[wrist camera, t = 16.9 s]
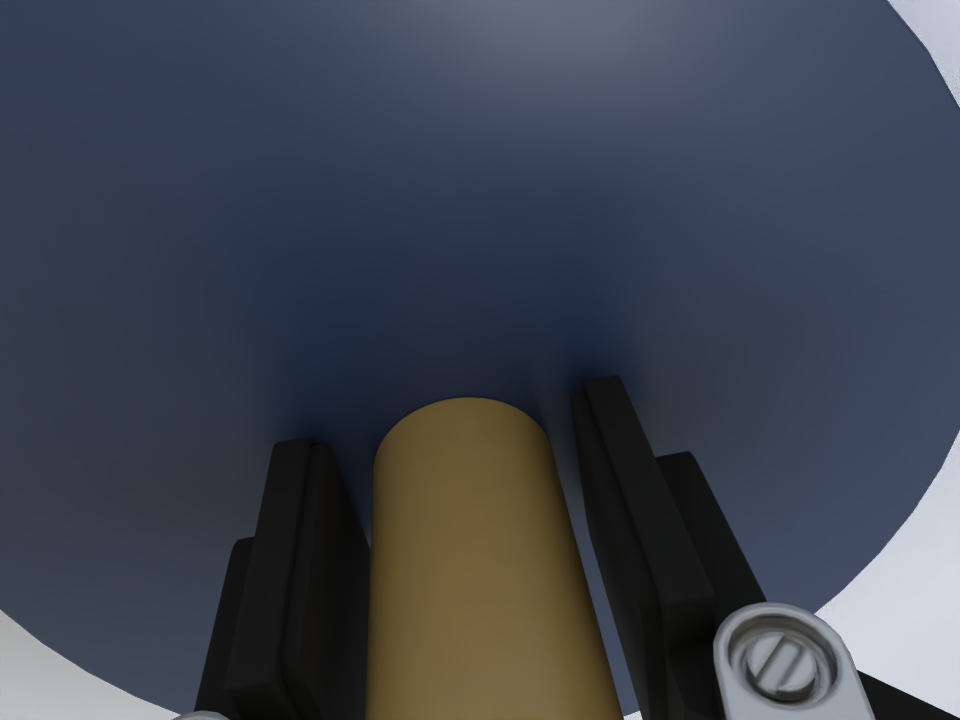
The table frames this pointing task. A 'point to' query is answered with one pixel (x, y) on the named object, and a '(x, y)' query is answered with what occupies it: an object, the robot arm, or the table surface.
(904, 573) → the table surface
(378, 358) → the tin lid
